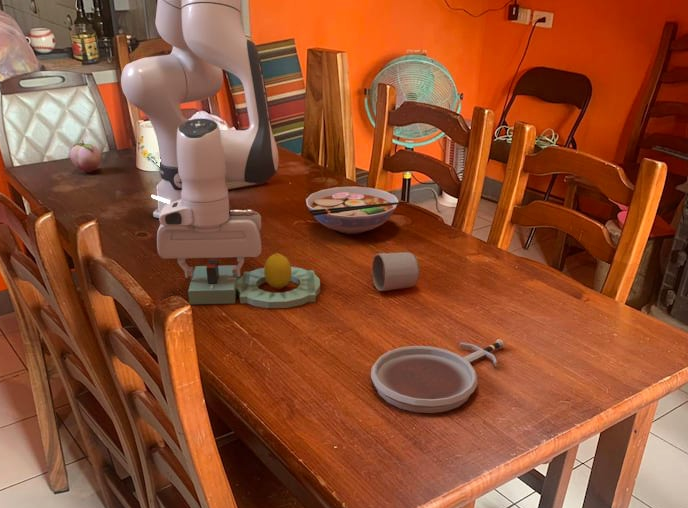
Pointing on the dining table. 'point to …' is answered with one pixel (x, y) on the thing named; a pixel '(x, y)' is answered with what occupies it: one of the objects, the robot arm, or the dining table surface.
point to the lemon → (277, 271)
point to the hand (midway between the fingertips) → (213, 276)
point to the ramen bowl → (352, 208)
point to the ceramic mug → (395, 271)
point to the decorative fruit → (85, 156)
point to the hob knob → (212, 271)
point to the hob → (296, 297)
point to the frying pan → (428, 377)
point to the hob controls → (213, 287)
